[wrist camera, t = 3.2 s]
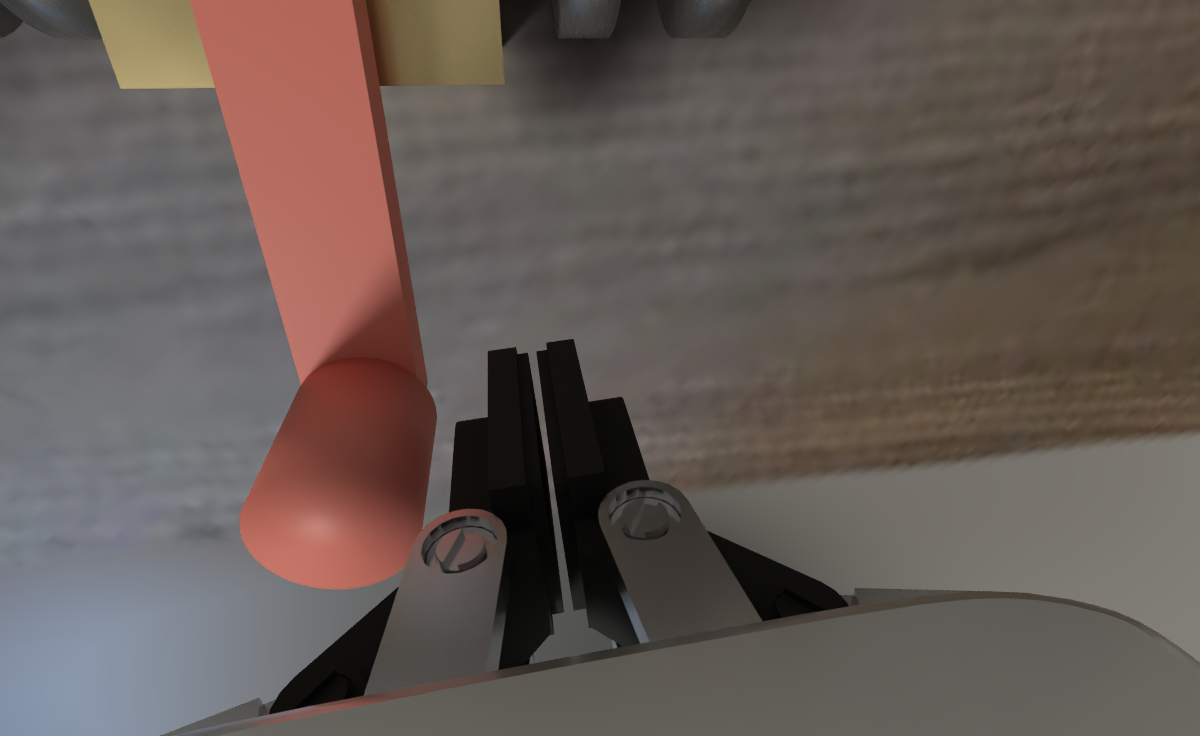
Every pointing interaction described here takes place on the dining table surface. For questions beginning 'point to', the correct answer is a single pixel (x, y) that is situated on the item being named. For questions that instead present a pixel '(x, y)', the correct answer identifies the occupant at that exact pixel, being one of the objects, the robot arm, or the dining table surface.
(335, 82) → the lever
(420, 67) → the valve
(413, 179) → the dining table surface
